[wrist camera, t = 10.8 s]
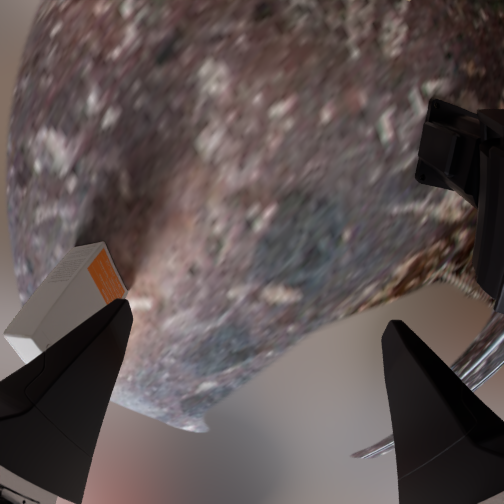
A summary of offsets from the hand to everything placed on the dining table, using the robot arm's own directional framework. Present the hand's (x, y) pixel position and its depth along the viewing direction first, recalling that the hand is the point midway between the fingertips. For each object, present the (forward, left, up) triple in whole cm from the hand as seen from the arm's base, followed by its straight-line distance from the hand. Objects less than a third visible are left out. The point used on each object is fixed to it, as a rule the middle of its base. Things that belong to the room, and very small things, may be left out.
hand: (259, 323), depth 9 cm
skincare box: (+15, +9, -13) cm, 22 cm away
